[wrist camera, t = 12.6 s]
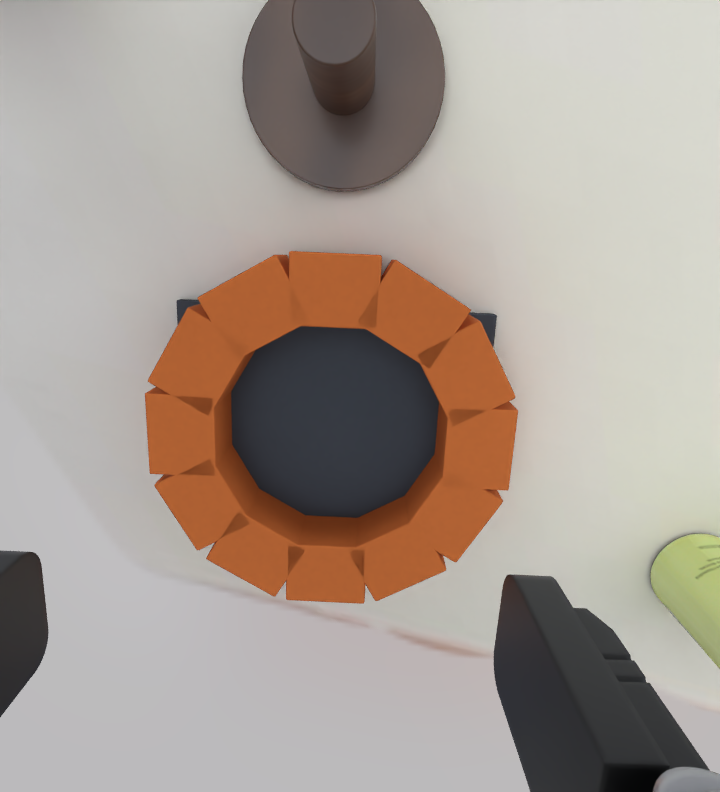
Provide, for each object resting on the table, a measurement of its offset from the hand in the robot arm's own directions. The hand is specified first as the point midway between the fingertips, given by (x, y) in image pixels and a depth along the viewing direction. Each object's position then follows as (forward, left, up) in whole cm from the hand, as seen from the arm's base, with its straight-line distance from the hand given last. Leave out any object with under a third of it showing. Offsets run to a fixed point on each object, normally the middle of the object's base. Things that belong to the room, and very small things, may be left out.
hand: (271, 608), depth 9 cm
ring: (0, -3, -19) cm, 19 cm away
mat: (0, -3, -19) cm, 20 cm away
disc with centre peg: (0, +13, -19) cm, 24 cm away
